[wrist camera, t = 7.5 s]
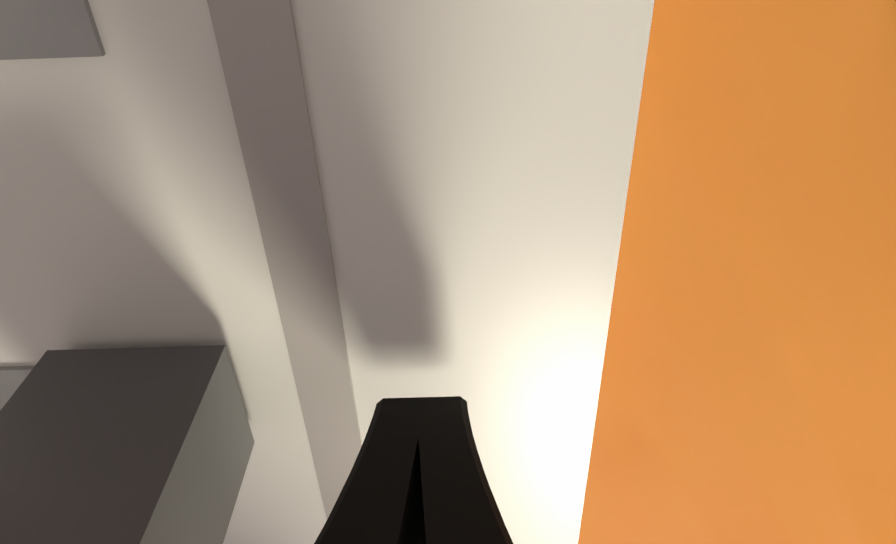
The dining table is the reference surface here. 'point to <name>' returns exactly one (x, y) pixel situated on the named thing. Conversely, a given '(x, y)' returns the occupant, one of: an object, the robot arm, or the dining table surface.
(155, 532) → the dark gray block
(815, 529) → the dining table surface
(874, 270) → the dining table surface
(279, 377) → the breaker board
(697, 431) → the dining table surface
